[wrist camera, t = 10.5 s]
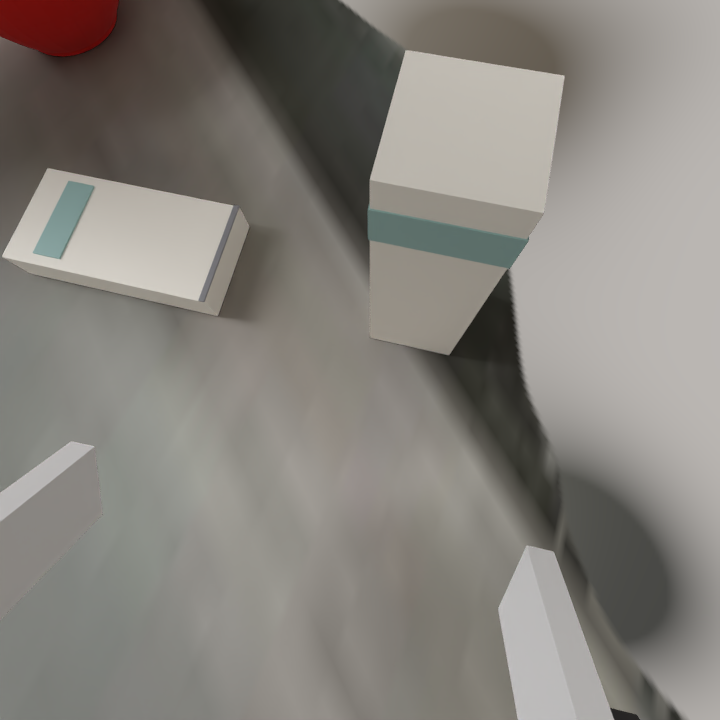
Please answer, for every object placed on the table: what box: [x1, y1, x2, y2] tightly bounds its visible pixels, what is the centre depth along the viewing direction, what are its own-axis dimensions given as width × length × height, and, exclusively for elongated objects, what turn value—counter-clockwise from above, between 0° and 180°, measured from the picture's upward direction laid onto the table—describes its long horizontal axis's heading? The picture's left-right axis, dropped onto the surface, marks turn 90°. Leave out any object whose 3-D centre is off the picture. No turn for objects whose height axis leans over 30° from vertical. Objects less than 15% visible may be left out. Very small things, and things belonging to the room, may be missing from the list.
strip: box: [2, 168, 249, 316], centre depth 24 cm, size 12×6×2 cm, turn 76°
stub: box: [368, 50, 564, 355], centre depth 17 cm, size 5×5×13 cm
